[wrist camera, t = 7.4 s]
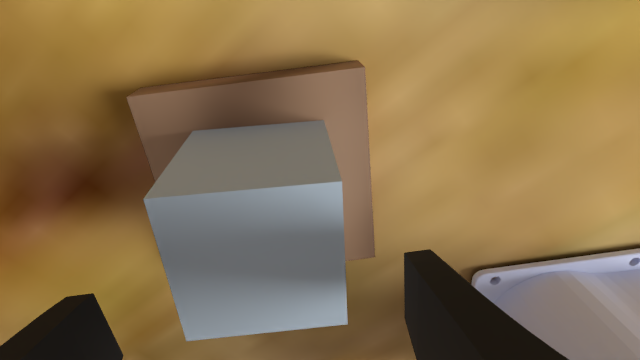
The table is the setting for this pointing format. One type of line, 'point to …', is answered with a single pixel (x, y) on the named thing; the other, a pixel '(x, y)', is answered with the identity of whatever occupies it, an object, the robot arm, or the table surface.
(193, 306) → the block
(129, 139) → the table surface
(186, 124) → the slab
